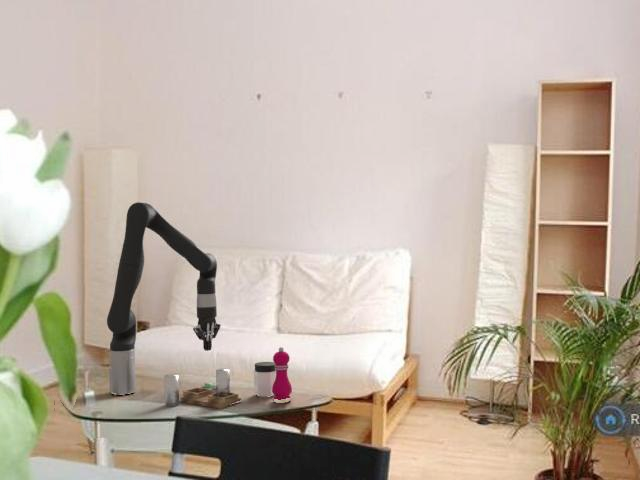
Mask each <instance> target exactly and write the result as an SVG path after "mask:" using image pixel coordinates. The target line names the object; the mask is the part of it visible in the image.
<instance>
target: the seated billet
mask: <svg viewBox="0 0 640 480" xmlns="http://www.w3.org/2000/svg"><path fill="white" fill-rule="evenodd" d="M215 386H216V396H218V397H227V396H230V392H231V371H230V368H226V367H225V368H218V369H217V368H216V369H215Z"/></svg>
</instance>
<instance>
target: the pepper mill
mask: <svg viewBox="0 0 640 480" xmlns="http://www.w3.org/2000/svg"><path fill="white" fill-rule="evenodd" d="M272 357H273V358H272V362H274V363H275V364H276V365H275V369H276V379H275V381H274V384H273V387H272V392H273V394H274V395H275V396H273V400H274V399H278V400H281V399H286V398H290V397H291V394H292V392H293V389H292V388H293V387H292V384H291V382H290V380H289V377H288V369H289V364H288V363H290V355H289V353H288V352H286V351H284V347H283V346H280V347H279V348H278V351H277V352H275V353H274V355H273V356H272Z"/></svg>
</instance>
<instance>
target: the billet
mask: <svg viewBox="0 0 640 480" xmlns="http://www.w3.org/2000/svg"><path fill="white" fill-rule="evenodd" d="M179 376H180V375H179V373H167V374H164V407H167V408H174V407H175V408H176V407H178V406H180V385H179V383H180V381H179V380H180V379H179Z"/></svg>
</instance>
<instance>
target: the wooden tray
mask: <svg viewBox="0 0 640 480" xmlns="http://www.w3.org/2000/svg"><path fill="white" fill-rule="evenodd" d="M200 387H201V386H198V387H193V388H190V389H187V390H183V391H182V396H181V397H180V402H181V403H187V404H193V405H197V406H203V407H209V408H214V409H220V410H221V409H223V408H226V406H227V407H229V406H228V405H230V404H232V403H235V402H237V401H240V400H241V401H242V398H241V397H239V393H236V392H231V391H230V396H227V397H218V396H216V393H215V394H213V390H212V389H206V388H200ZM230 406H231V405H230Z"/></svg>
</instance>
